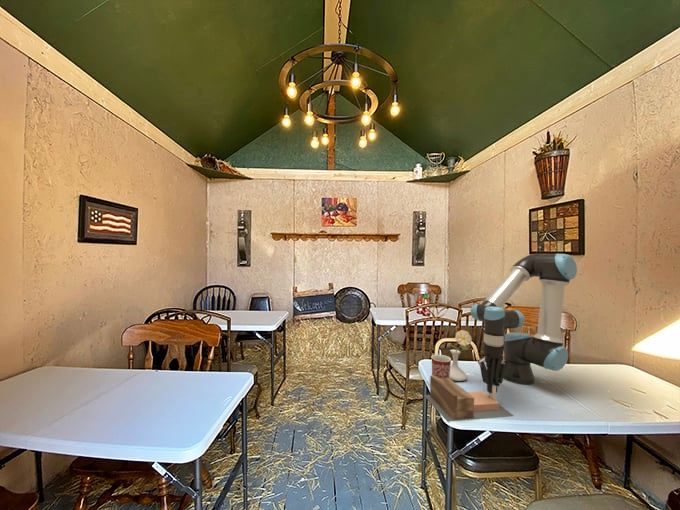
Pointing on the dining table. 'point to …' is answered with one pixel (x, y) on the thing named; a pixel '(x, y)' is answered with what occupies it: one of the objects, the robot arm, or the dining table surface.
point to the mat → (477, 414)
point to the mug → (441, 366)
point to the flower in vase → (463, 340)
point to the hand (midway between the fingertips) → (491, 399)
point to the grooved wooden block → (451, 398)
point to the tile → (483, 402)
